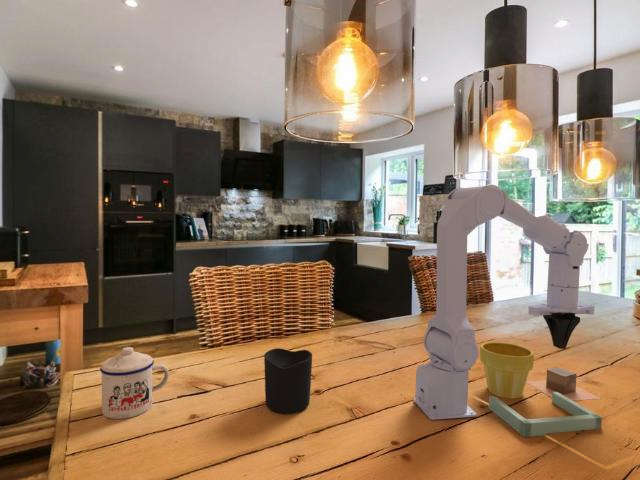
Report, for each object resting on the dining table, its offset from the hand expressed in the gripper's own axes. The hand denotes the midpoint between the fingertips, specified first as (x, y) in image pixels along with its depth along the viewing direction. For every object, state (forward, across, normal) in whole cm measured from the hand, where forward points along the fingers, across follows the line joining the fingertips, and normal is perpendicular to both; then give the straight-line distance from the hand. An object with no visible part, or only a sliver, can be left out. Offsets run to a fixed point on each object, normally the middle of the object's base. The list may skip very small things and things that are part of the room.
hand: (559, 347), depth 84 cm
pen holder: (+10, -59, +2) cm, 60 cm away
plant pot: (+10, -12, +1) cm, 16 cm away
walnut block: (+10, +1, 0) cm, 10 cm away
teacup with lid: (+10, -88, +5) cm, 89 cm away
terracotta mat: (+10, +1, 0) cm, 10 cm away
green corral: (+10, -12, -10) cm, 18 cm away
